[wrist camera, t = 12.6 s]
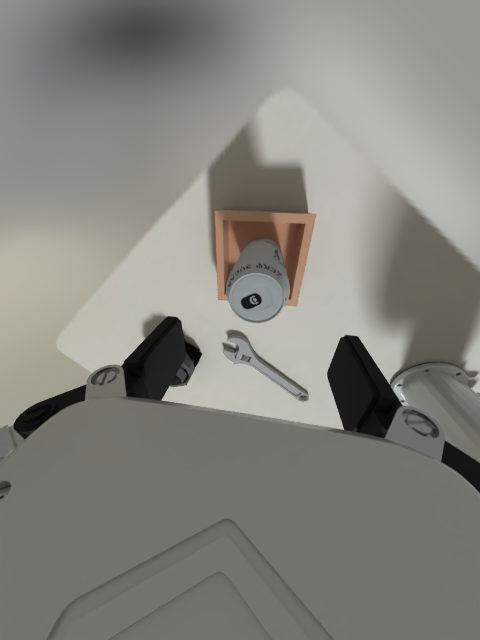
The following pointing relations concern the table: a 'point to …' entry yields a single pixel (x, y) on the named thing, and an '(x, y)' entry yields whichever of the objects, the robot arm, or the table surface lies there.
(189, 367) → the cpu cooler
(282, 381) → the adjustable wrench
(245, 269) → the energy drink can
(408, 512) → the robot arm
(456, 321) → the table surface
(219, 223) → the bin
